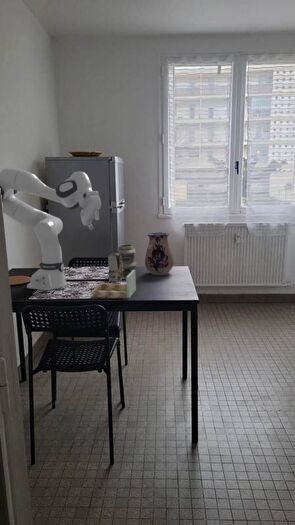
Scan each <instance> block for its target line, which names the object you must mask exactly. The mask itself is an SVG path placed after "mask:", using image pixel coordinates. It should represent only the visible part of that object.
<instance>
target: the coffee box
mask: <svg viewBox="0 0 295 525" xmlns="http://www.w3.org/2000/svg"><path fill="white" fill-rule="evenodd" d="M107 258H108V259H107V260H108V277H109V278H108V281H109V282H122V281H123V280H124V275H123V260H122V253H117V252H111V253H110V254H109V255H108V256H107ZM122 279H123V280H122Z"/></svg>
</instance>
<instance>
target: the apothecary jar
mask: <svg viewBox="0 0 295 525" xmlns="http://www.w3.org/2000/svg"><path fill="white" fill-rule="evenodd" d="M116 253H122V260H123V276H128V275H129V274H130V273H131V272H132V271H133V270H134V269H135V268H136V267H137V262H136V261H135V254H136V253H137V251H136V249H135V248H134V245H133V244H130V243H125V244H120V245H119V246H118V249H117V250H116Z"/></svg>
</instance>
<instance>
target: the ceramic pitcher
mask: <svg viewBox="0 0 295 525" xmlns="http://www.w3.org/2000/svg"><path fill="white" fill-rule="evenodd" d="M169 235H170V234H169V233H166V232H162V231H160V232H151V233H148V234H147V236H148V238H149V240H148V245H147V250H146V252H145V258H144V265H145V267H146V268H145V269H146V270H147V272H149V273H150V274H152V275H154V276H164V275H167V274H169V273H170V272H171V270H172V269H173V266H174V256H173V254H172V250H171V246H170V245H169V241H168V238H169Z"/></svg>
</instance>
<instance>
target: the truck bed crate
mask: <svg viewBox="0 0 295 525" xmlns="http://www.w3.org/2000/svg"><path fill="white" fill-rule="evenodd" d="M91 293H92V294H91V295H92V297H93V298H111V299H112V298H113V299H114V298H115V299H128V298H127V286H126V283H105V282H103V283H102V282H100V284H98V285H97V286H96V287H94V289H92V290H91Z"/></svg>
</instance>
